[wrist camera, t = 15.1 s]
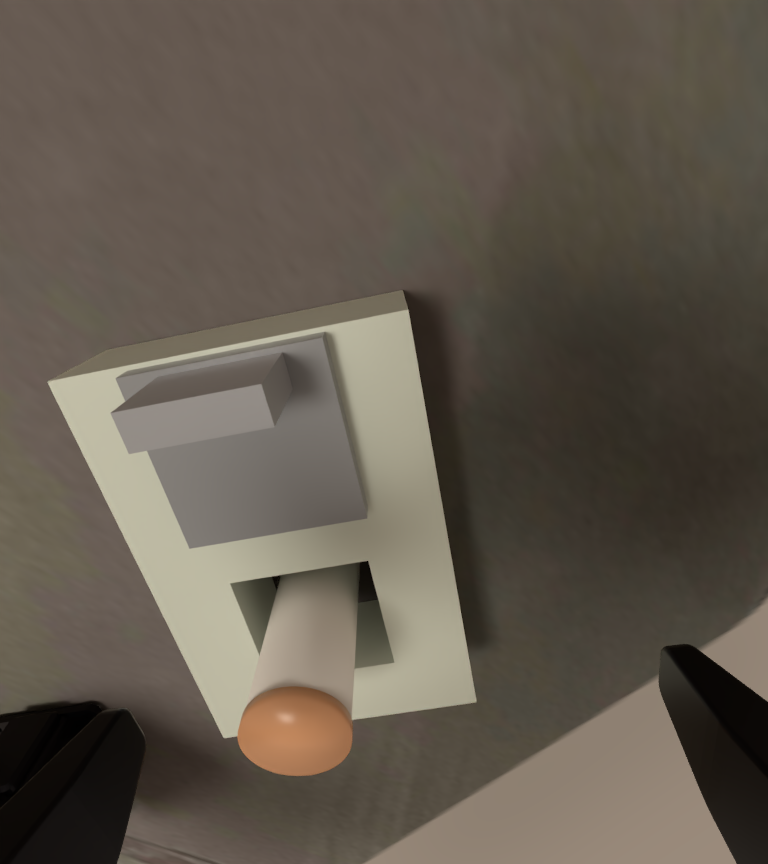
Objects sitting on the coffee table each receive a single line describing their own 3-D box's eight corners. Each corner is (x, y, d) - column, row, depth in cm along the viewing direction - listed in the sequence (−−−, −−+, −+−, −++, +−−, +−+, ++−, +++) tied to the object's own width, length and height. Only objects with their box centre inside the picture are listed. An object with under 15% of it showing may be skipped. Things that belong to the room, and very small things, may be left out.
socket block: (463, 634, 26) (476, 702, 23) (244, 667, 27) (223, 738, 24) (402, 289, 19) (408, 309, 16) (107, 349, 20) (47, 381, 16)
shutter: (367, 506, 18) (365, 575, 15) (196, 535, 19) (156, 609, 16) (325, 331, 16) (310, 366, 12) (127, 370, 16) (58, 415, 13)
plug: (368, 584, 25) (362, 768, 17) (296, 595, 25) (256, 782, 17) (352, 523, 24) (337, 692, 15) (276, 536, 24) (222, 709, 16)
